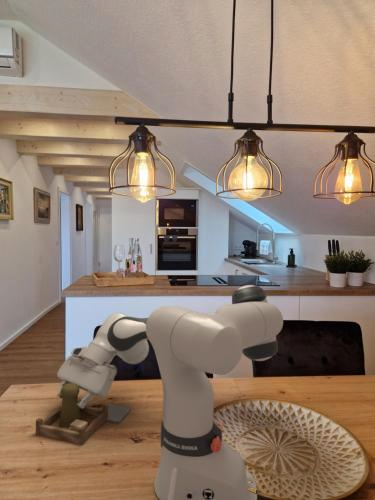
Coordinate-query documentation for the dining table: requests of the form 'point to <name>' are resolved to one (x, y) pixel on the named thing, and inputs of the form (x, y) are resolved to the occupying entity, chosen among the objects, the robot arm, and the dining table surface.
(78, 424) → the offcut stack
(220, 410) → the dining table surface
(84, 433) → the frame
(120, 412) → the slate coaster
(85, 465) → the dining table surface
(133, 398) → the dining table surface
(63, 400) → the cork
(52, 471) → the dining table surface
